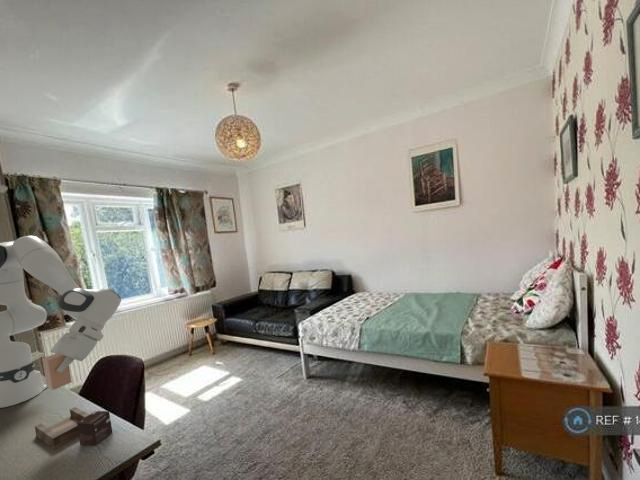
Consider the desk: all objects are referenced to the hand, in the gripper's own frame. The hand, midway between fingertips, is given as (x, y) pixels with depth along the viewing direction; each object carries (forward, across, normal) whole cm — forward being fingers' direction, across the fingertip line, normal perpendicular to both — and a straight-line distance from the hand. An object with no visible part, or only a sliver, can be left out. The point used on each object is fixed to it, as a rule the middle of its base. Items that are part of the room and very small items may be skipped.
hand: (54, 370), depth 97 cm
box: (+13, +16, +18) cm, 27 cm away
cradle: (+15, 0, +16) cm, 22 cm away
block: (+3, 0, +4) cm, 5 cm away
